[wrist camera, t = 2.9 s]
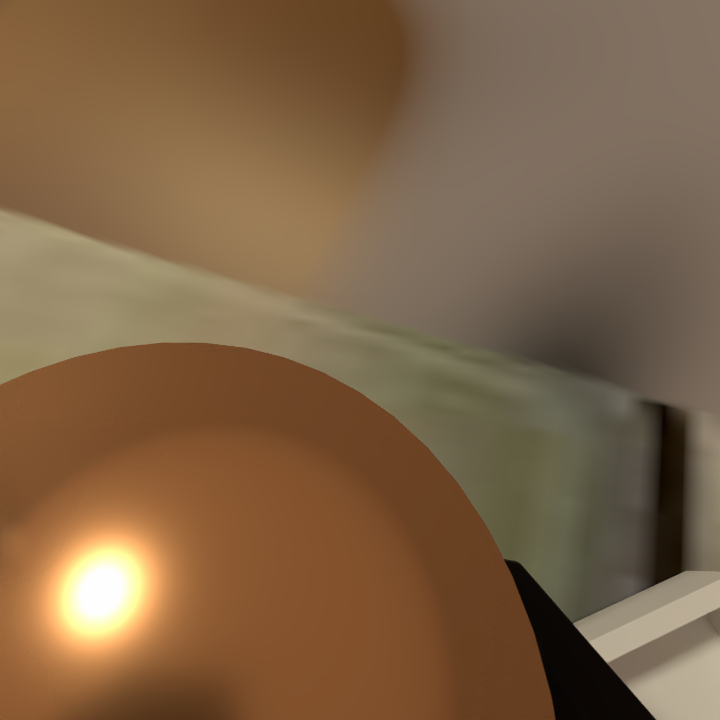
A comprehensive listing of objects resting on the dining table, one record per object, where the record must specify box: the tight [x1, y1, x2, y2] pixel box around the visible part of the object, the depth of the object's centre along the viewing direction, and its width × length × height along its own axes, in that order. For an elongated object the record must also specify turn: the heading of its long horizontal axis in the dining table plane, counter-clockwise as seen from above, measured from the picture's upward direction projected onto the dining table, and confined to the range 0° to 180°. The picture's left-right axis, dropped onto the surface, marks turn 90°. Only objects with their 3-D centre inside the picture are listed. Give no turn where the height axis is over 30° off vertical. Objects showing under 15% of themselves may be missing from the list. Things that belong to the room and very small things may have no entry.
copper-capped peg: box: [0, 343, 555, 720], centre depth 8 cm, size 5×5×13 cm
